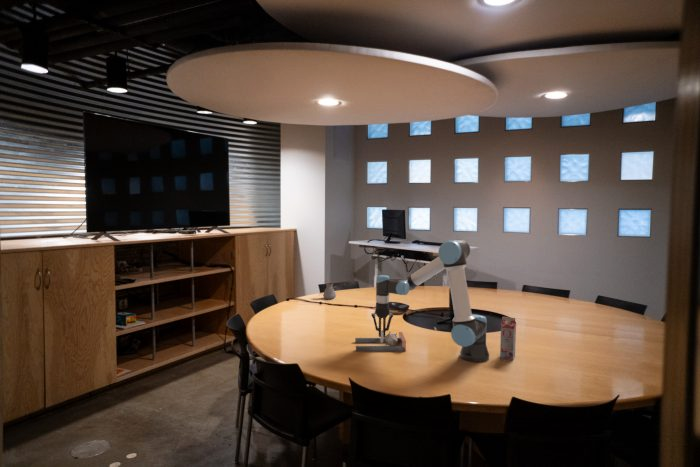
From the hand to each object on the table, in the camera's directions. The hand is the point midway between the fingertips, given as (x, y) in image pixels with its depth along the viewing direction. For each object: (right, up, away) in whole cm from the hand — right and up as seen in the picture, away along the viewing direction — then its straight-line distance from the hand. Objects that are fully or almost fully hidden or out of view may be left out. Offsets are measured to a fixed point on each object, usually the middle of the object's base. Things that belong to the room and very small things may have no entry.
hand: (381, 342), depth 255 cm
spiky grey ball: (+5, -3, +1) cm, 6 cm away
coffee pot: (-32, +6, +129) cm, 133 cm away
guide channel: (-1, -3, 0) cm, 3 cm away
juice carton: (+67, -4, -17) cm, 69 cm away
